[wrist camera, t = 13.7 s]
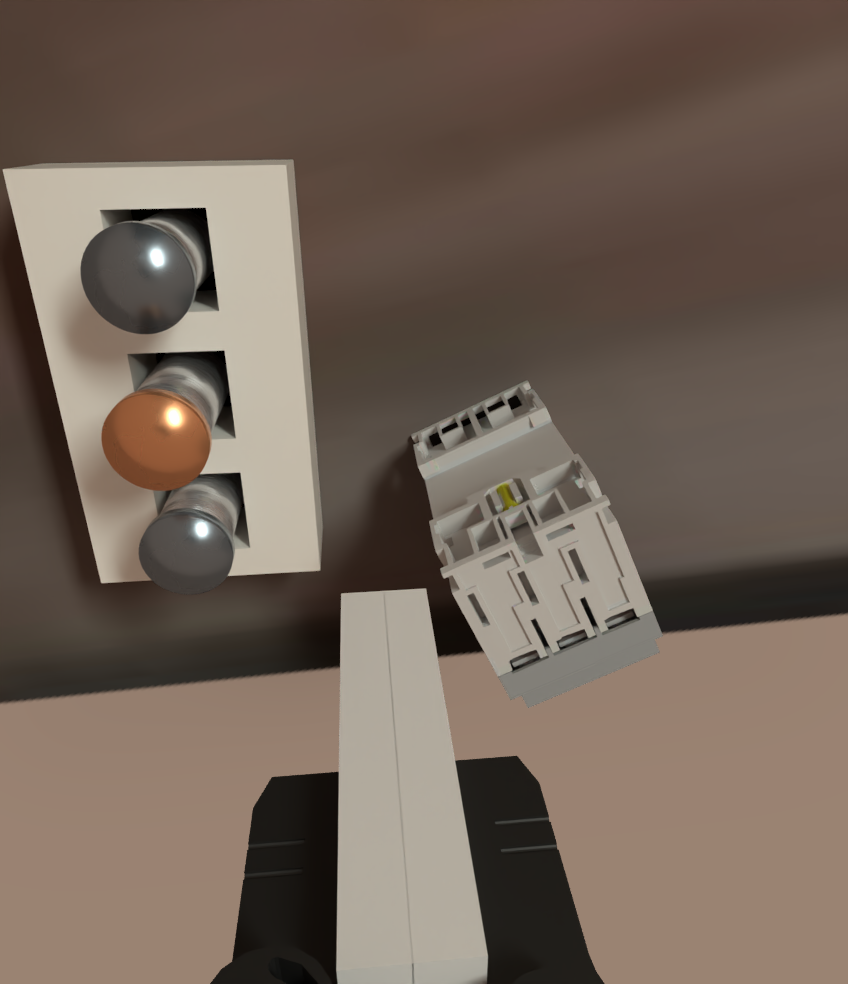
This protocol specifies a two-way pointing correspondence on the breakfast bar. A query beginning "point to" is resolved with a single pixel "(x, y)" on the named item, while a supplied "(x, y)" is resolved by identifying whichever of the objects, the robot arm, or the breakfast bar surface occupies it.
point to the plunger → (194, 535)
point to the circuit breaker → (532, 550)
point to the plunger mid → (167, 422)
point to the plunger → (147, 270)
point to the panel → (183, 346)
